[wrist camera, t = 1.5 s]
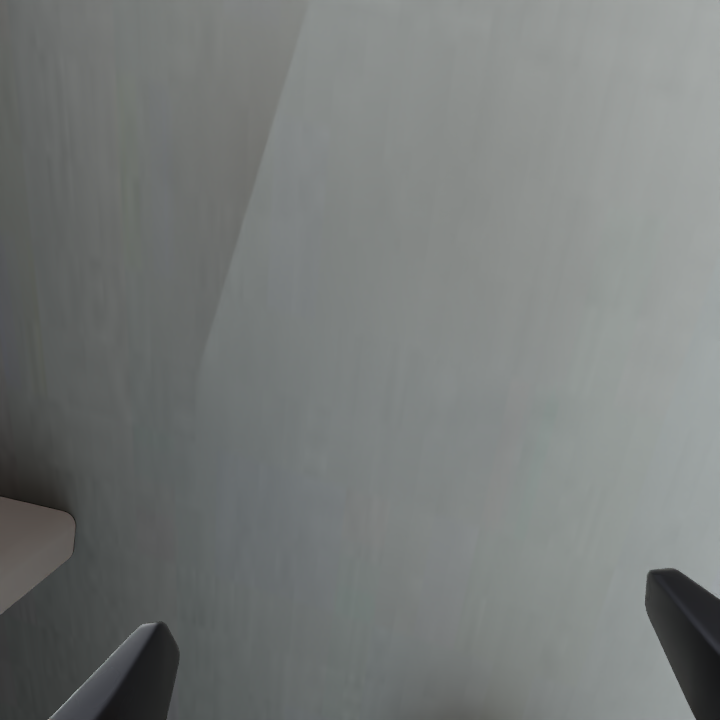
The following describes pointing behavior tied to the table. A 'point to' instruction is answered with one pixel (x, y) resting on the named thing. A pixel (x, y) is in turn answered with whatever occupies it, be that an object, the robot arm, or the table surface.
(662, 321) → the table surface
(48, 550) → the power adapter
